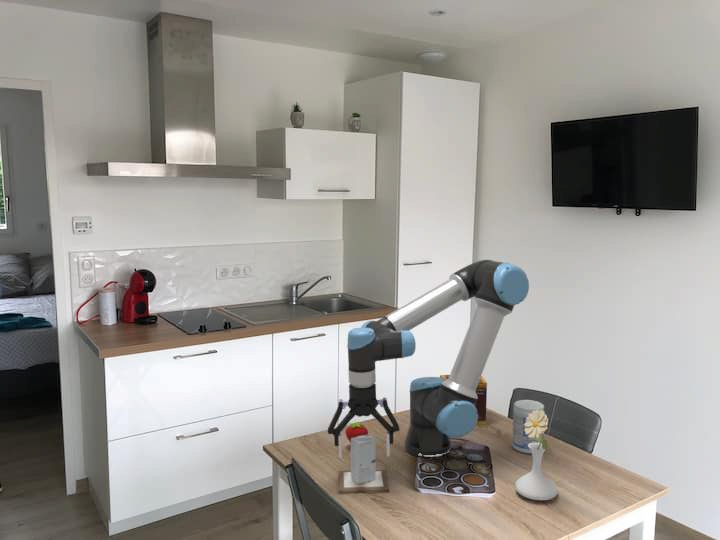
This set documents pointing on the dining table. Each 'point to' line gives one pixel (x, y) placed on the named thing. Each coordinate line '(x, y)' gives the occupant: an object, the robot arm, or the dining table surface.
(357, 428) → the strawberry
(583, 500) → the dining table surface
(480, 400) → the supplement box
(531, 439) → the supplement tub
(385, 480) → the tray with cross mark
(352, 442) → the skincare box
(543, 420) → the flower in vase
